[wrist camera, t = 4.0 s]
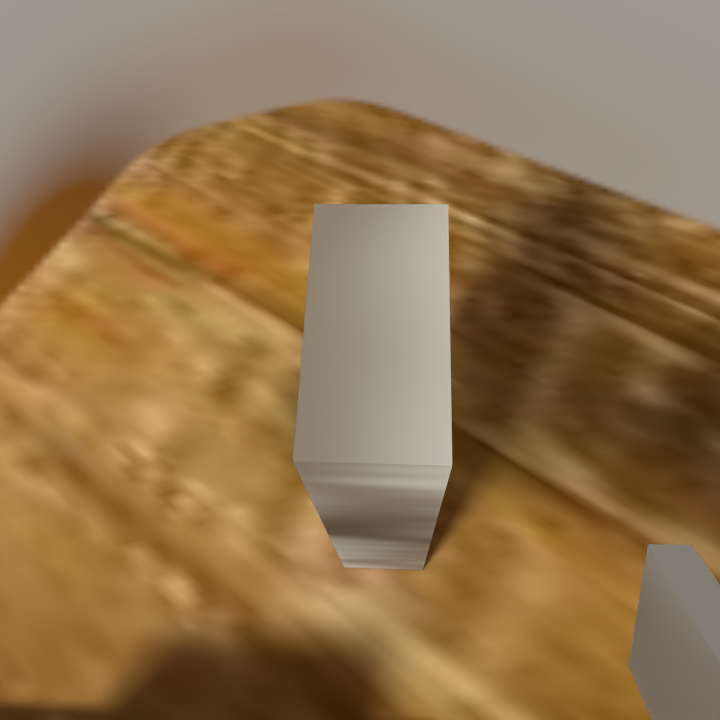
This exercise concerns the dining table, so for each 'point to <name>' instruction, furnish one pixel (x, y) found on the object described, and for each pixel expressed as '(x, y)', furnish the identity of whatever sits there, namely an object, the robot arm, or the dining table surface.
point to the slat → (377, 380)
